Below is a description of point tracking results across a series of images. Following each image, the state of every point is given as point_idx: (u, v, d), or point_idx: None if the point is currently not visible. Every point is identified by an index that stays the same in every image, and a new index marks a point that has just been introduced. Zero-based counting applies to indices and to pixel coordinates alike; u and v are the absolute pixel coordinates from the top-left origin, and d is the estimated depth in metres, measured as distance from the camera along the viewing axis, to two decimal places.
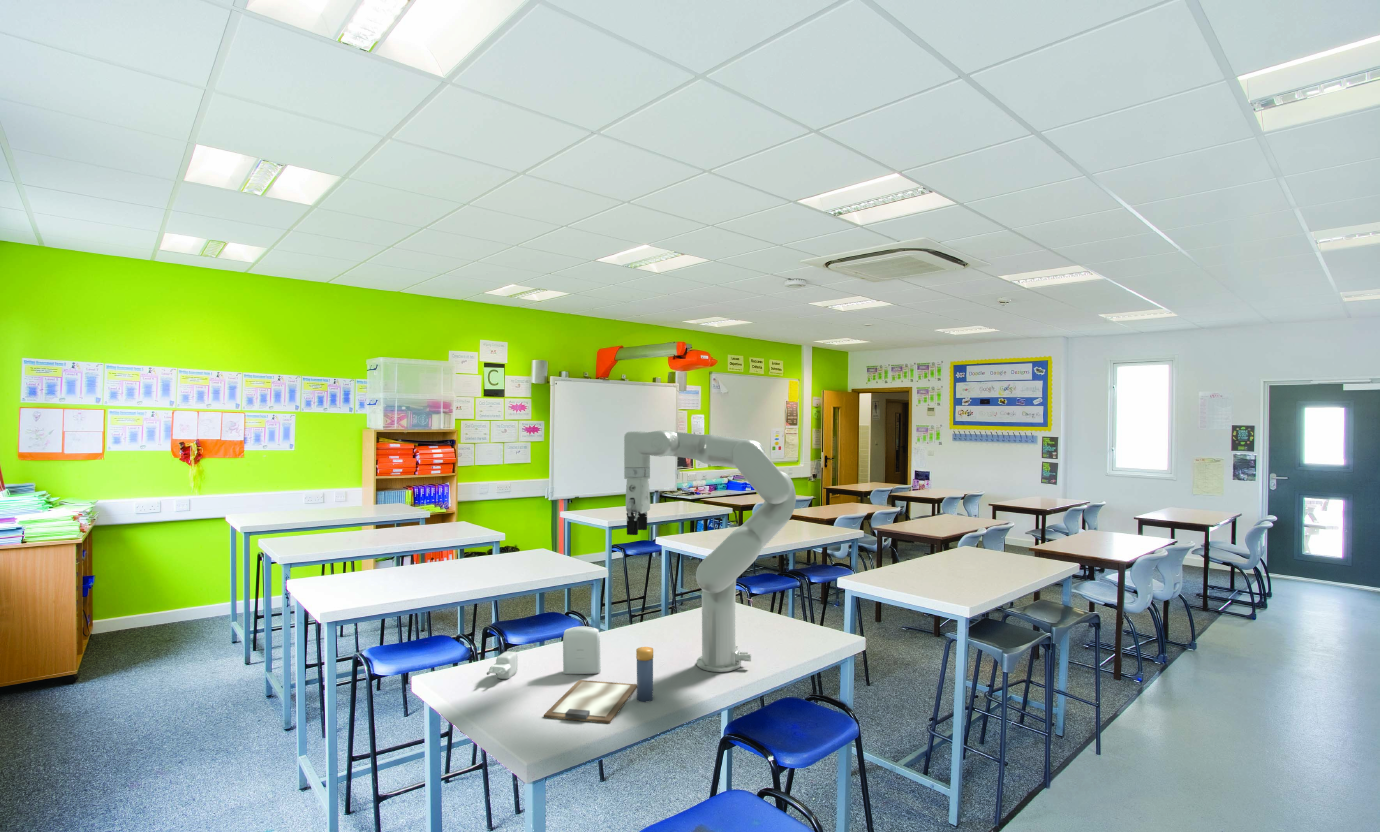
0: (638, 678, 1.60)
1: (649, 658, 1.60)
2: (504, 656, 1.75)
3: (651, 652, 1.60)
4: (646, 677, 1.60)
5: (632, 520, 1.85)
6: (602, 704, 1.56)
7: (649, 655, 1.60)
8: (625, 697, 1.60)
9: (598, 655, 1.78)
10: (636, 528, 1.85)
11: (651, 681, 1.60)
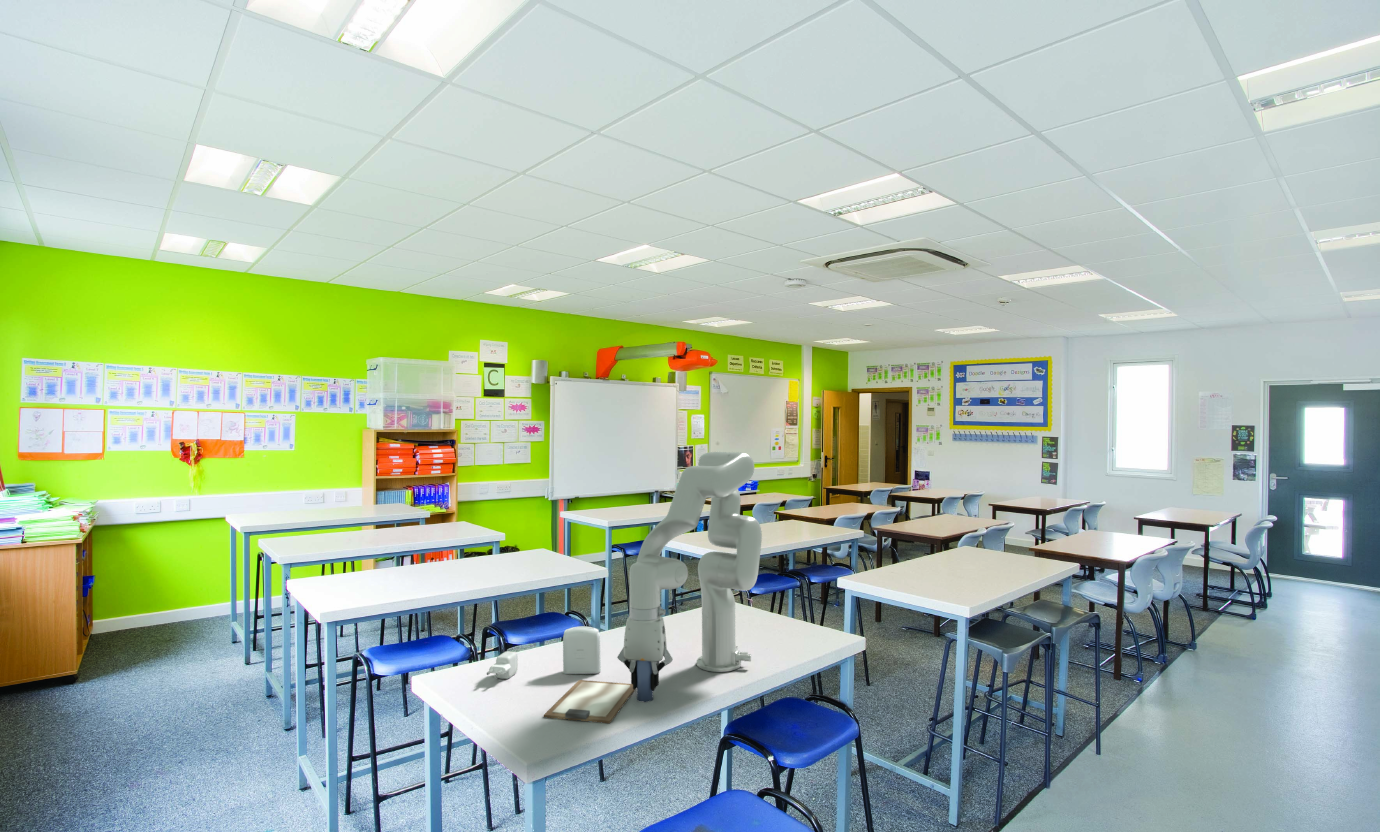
0: (638, 678, 1.60)
1: None
2: (504, 656, 1.75)
3: None
4: (646, 677, 1.60)
5: None
6: (602, 704, 1.56)
7: None
8: (625, 697, 1.60)
9: (598, 655, 1.78)
10: None
11: None
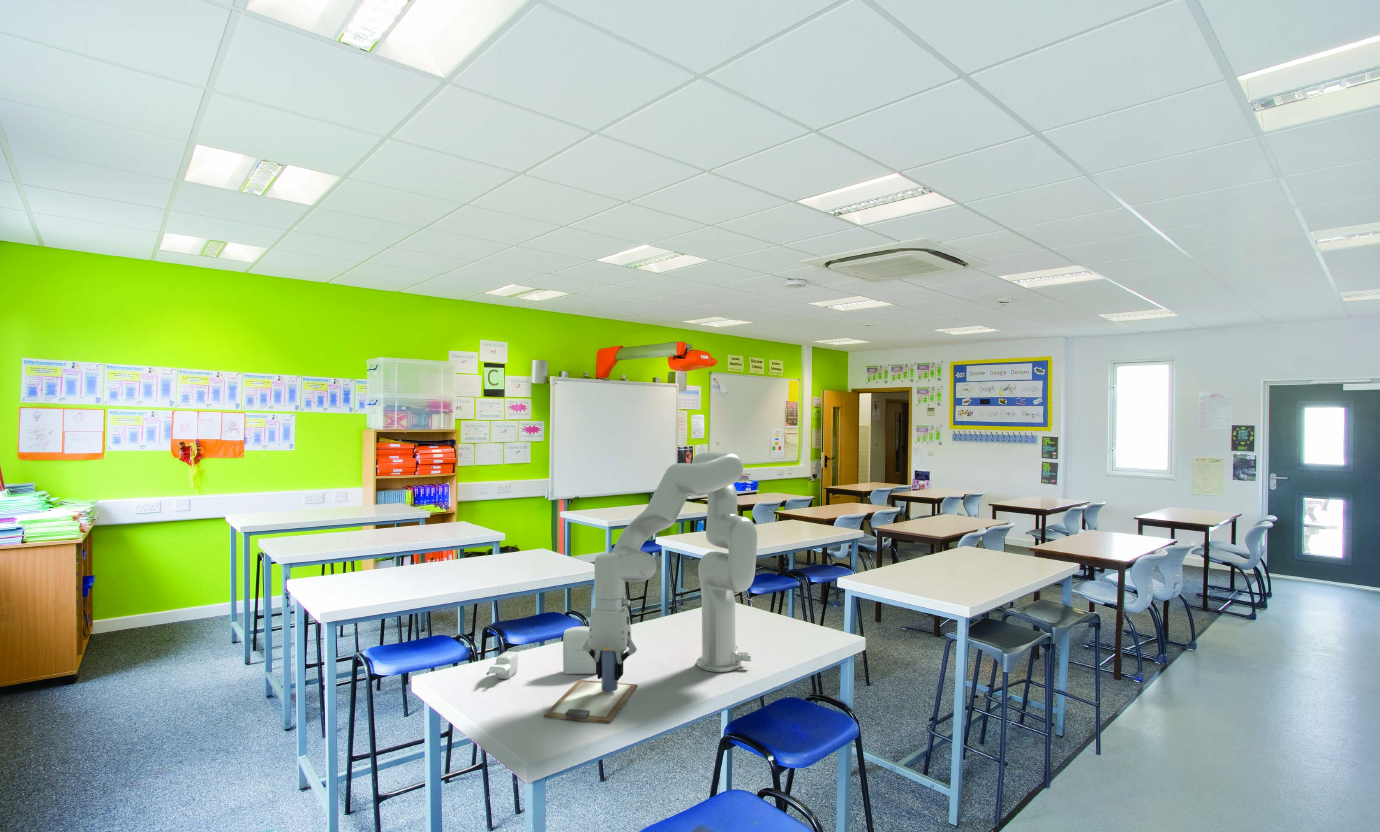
0: (602, 668, 1.62)
1: None
2: (504, 656, 1.75)
3: None
4: (611, 667, 1.61)
5: None
6: (602, 704, 1.56)
7: None
8: (625, 697, 1.60)
9: None
10: None
11: None
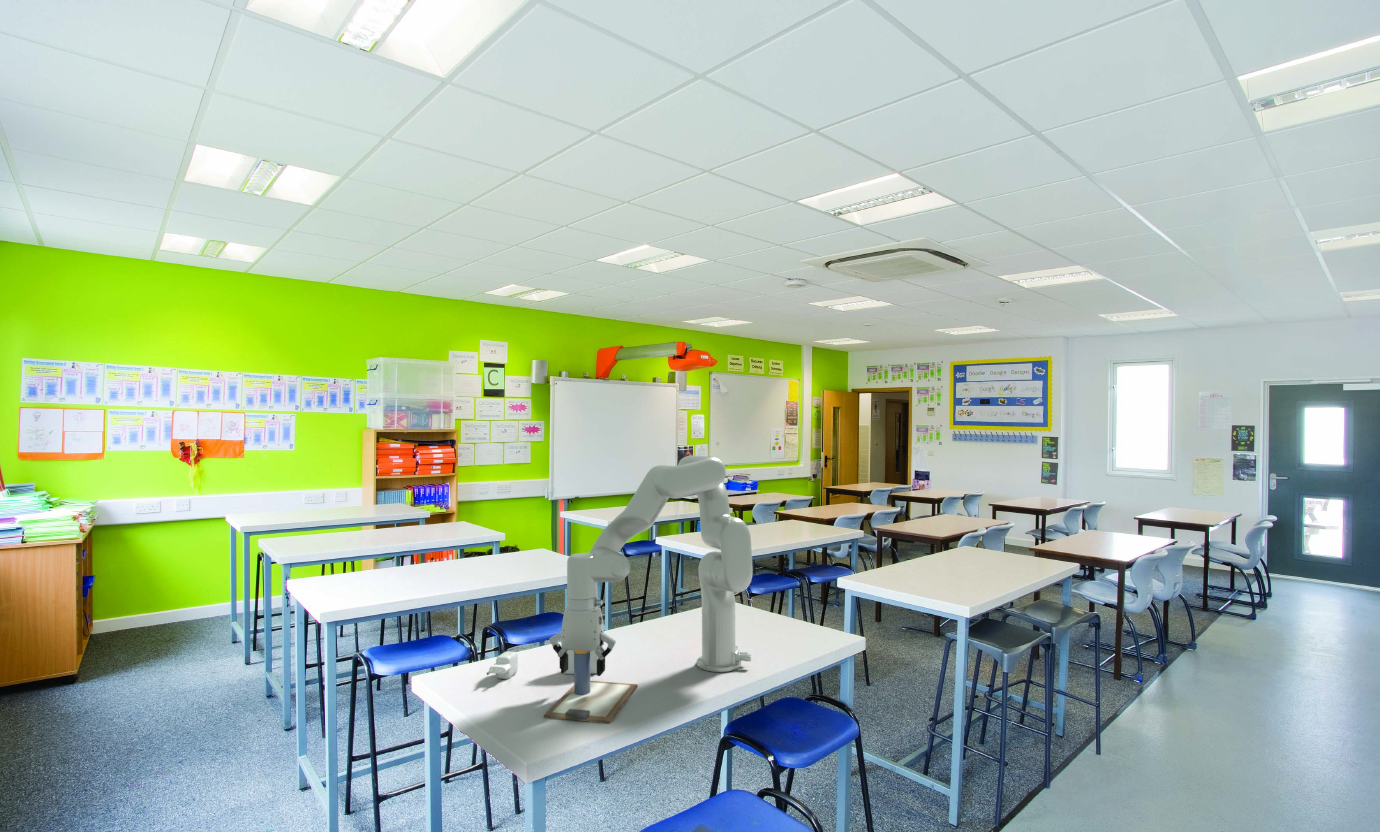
0: (575, 671, 1.63)
1: (586, 651, 1.62)
2: (504, 656, 1.75)
3: None
4: (583, 671, 1.62)
5: None
6: (602, 704, 1.56)
7: None
8: (625, 697, 1.60)
9: None
10: None
11: (588, 674, 1.63)
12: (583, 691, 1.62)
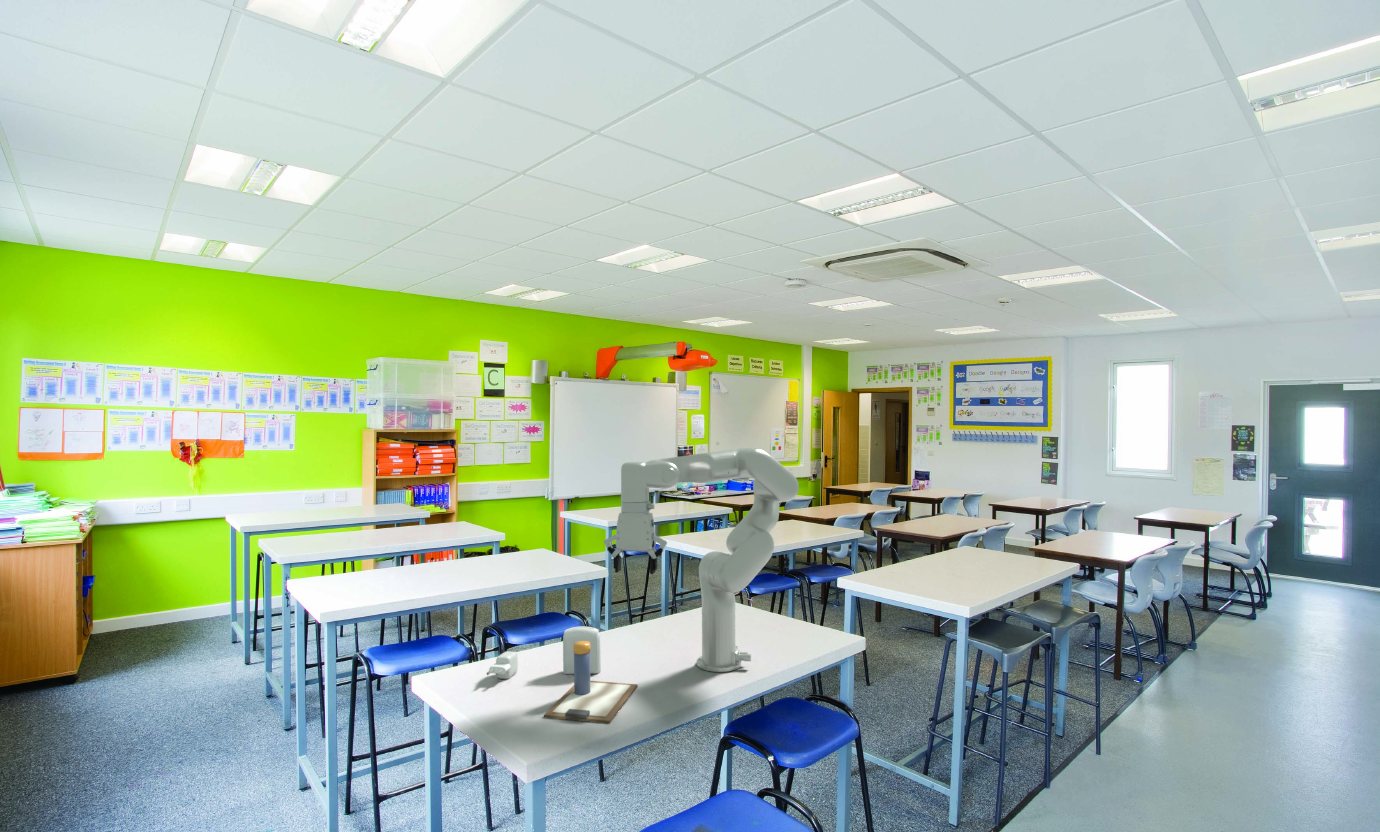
0: (575, 672, 1.62)
1: (585, 652, 1.62)
2: (504, 656, 1.75)
3: (587, 646, 1.63)
4: (583, 671, 1.62)
5: None
6: (602, 704, 1.56)
7: (585, 649, 1.62)
8: (625, 697, 1.60)
9: (598, 655, 1.78)
10: None
11: (588, 674, 1.63)
12: (583, 691, 1.62)
